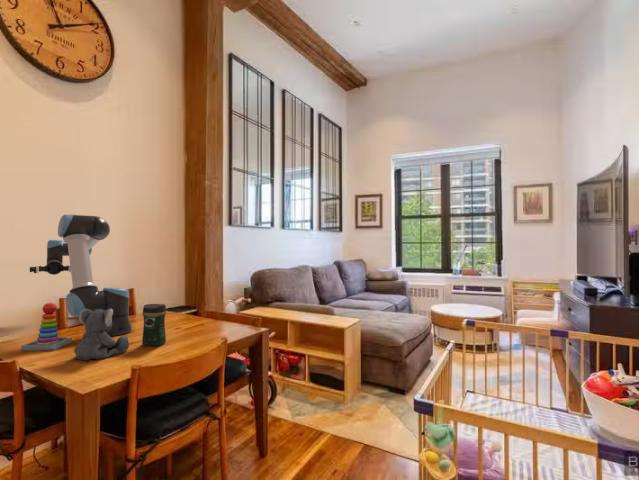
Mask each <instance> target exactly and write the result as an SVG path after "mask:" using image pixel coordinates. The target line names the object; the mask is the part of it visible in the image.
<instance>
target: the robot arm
mask: <svg viewBox="0 0 639 480" xmlns="http://www.w3.org/2000/svg"><path fill="white" fill-rule="evenodd" d="M57 226H58V227H57V236H58V237H59V238H63V240H62V239H49V240H48V241H47V243H46V245H47V246H46V265H44V266H41V265H39V266H30V267H29V272H30V273H32V272H33V274H38V273H39V272H45V273H48V274H50V275H52V276H53V275H54V276H56V275H58V274H60V273H61V272H68V273H70V274H71V276H70V277H71V283H72V287H71V289H70V290H69V293H67V295H66V297H65V306H66V310H67V312H68V314H69V315H70V316H71V317H74V318H79V316H80V312H81V311H83V310H85V309H89V310H91V311H95V310H97V309H102V310H105V311H106V310H108V309H109V310H110V309H113V315H112V328H111V329H110V331H109V332H108V333H107V334H108V335H109V336H110V337H114V336H124V335H126V334H129V333H131V332H132V331H133V326H132V323H131V320H130V317H129V309H130V307H129V305H130V304H129V303H130V291H129V290H128V289H127V288H124V287H112V286H111V287H106V286H105V287H103V289H102V290H99V289H98V286H97V285H96V284H94V278H93V272H92V265H91V257H90V256H91V255H92V251H93V248H94V246H95V245H96V244H97V243H99V242H100V241H103V240H105V239H106V238H107V237H108V236H109V235H110V232H111V227H110V224H109V223H108V222H107V220H106V219H104V218H102V217H100V216H97V215H83V214H82V215H81V214H79V215H78V214H63V215H62V216H61V218H60V219H59V222H58V225H57ZM64 257H68V258H69V264H68V265H63V263H64V261H63V259H64Z"/></svg>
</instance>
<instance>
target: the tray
mask: <svg viewBox="0 0 639 480" xmlns="http://www.w3.org/2000/svg"><path fill="white" fill-rule="evenodd" d="M57 340H59V342H58V343H56V344H54V345H36V343H37V342H38V341H37V339H36V340H34V341H30V342H27V343H25V344H23V345H21V349H20V350H21V352H36V351H37V352H38V351H39V352H41V351H42V352H46V351H50V352H51V351H53V352H54V351H56V350H58V349H60V348H63V347H64V346H68V345H69V344H71V343H73V337H58V339H57Z"/></svg>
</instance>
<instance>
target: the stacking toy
mask: <svg viewBox="0 0 639 480" xmlns="http://www.w3.org/2000/svg"><path fill="white" fill-rule="evenodd" d="M57 309H58V308H57V304H56V303H54V302H48V303H45V304H44V305H43V307H42V312H43V313H44V314H42V315H41V316H42V317H41V318H42V319H41V321H40V322H41V324H39V325H40V328H39V329H38V332H39V333H38V334H37V336H38V337H37V339H36V340H37V341H38V342H37V343H36V345H54V344H56V343H58V342H59V340H57V339H58V338H59V335H58V334H59V332H58V327H57V326H58V323H57V318H56V317H57V313H56V311H57Z"/></svg>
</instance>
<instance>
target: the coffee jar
mask: <svg viewBox="0 0 639 480" xmlns="http://www.w3.org/2000/svg"><path fill="white" fill-rule="evenodd" d="M166 314H167V307H166V305H165V304H164V303H163V304H161V303H148V304H144V305H143V307H142V316H143V331H142V340H141V341H142V342H141V343H142V344H141V345H143V346H146V347H156V346H162V345H164V344H165V343H166V342H167V339H166V338H167V337H166V336H167V335H166V325H165V321H166V320H165V319H166Z"/></svg>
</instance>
